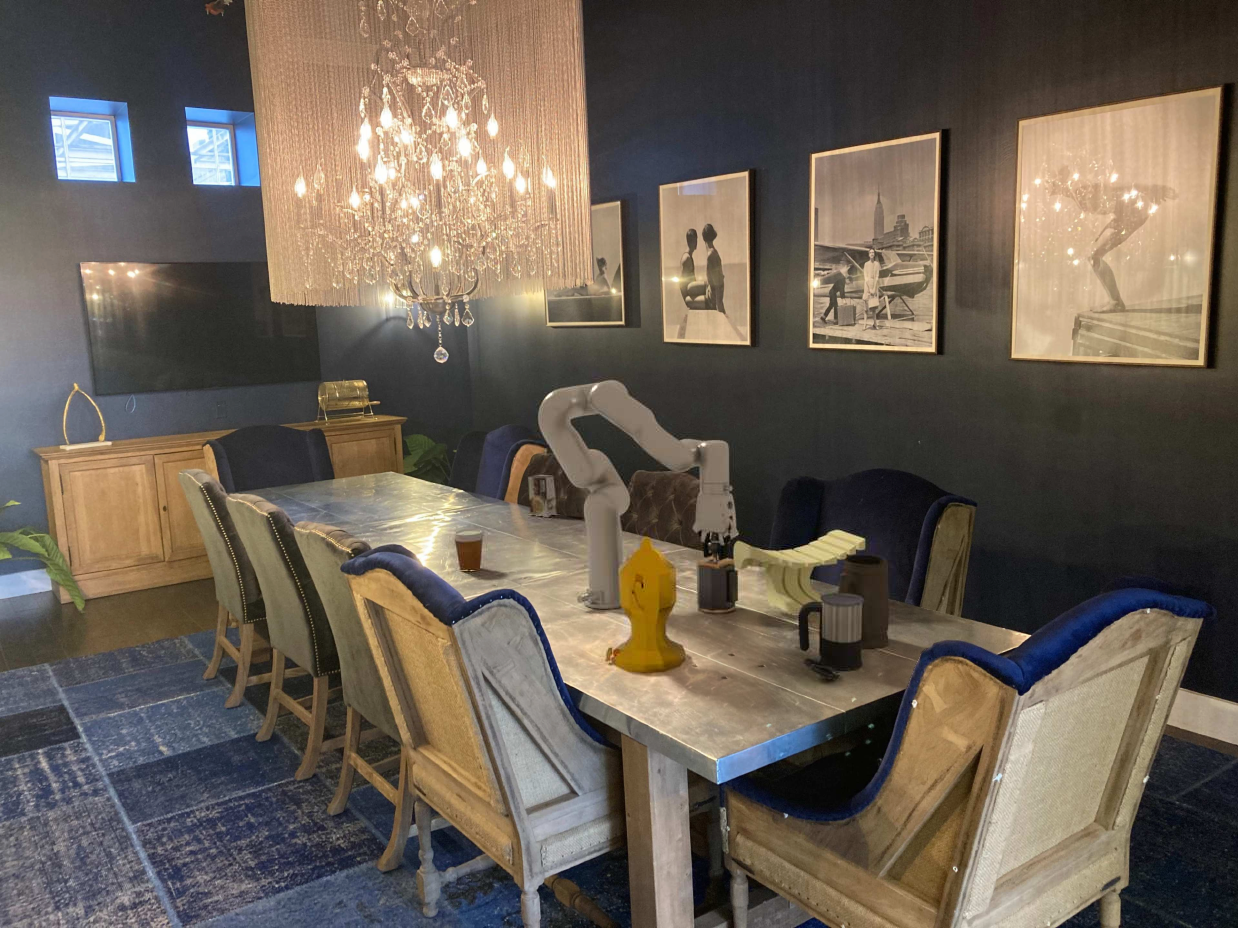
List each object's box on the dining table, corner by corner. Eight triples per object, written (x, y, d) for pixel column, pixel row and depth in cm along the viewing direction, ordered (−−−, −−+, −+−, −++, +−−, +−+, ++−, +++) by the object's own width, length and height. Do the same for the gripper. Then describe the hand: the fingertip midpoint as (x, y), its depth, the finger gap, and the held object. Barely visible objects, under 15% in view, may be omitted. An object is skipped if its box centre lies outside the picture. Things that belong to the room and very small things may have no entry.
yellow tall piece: (598, 678, 204) (594, 549, 200) (616, 641, 228) (612, 525, 224) (681, 680, 202) (678, 550, 198) (689, 642, 226) (687, 525, 222)
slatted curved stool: (831, 590, 266) (831, 527, 264) (864, 605, 251) (865, 538, 249) (734, 603, 256) (733, 538, 254) (762, 619, 241) (762, 550, 239)
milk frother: (857, 656, 213) (857, 591, 211) (877, 681, 198) (877, 612, 196) (793, 658, 213) (793, 593, 211) (808, 684, 198) (808, 614, 196)
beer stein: (855, 630, 231) (852, 550, 227) (897, 638, 224) (896, 555, 220) (825, 651, 220) (822, 568, 216) (869, 660, 213) (867, 574, 209)
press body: (724, 617, 244) (724, 567, 242) (690, 609, 252) (689, 561, 250) (746, 608, 251) (745, 560, 250) (712, 601, 259) (711, 554, 257)
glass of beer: (448, 571, 299) (446, 533, 298) (467, 564, 308) (465, 528, 306) (473, 574, 295) (471, 536, 293) (491, 567, 303) (489, 530, 302)
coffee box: (557, 514, 387) (555, 475, 384) (547, 517, 381) (546, 477, 379) (539, 513, 391) (537, 474, 389) (529, 515, 386) (527, 476, 384)
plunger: (718, 604, 247) (718, 546, 245) (699, 600, 251) (698, 543, 249) (733, 598, 252) (732, 541, 250) (713, 594, 256) (712, 538, 254)
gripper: (749, 489, 245) (750, 559, 247) (697, 483, 256) (698, 550, 258) (732, 493, 239) (733, 565, 242) (679, 487, 250) (681, 556, 253)
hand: (715, 557), depth 250 cm, fingers closed on plunger, 4 cm apart
